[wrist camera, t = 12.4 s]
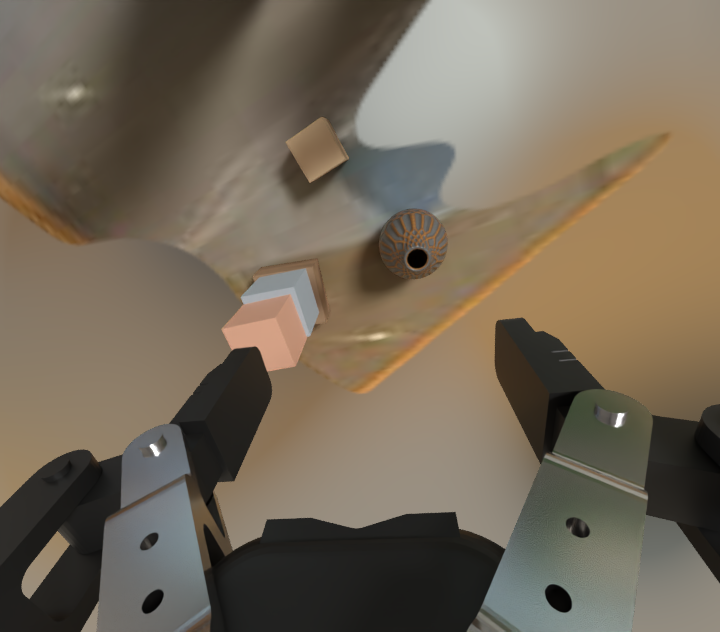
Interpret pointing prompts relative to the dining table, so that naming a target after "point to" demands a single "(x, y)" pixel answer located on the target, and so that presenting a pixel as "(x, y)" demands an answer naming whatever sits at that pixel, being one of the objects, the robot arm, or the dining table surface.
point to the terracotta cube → (269, 331)
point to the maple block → (317, 149)
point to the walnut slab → (314, 279)
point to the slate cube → (285, 285)
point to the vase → (413, 243)
